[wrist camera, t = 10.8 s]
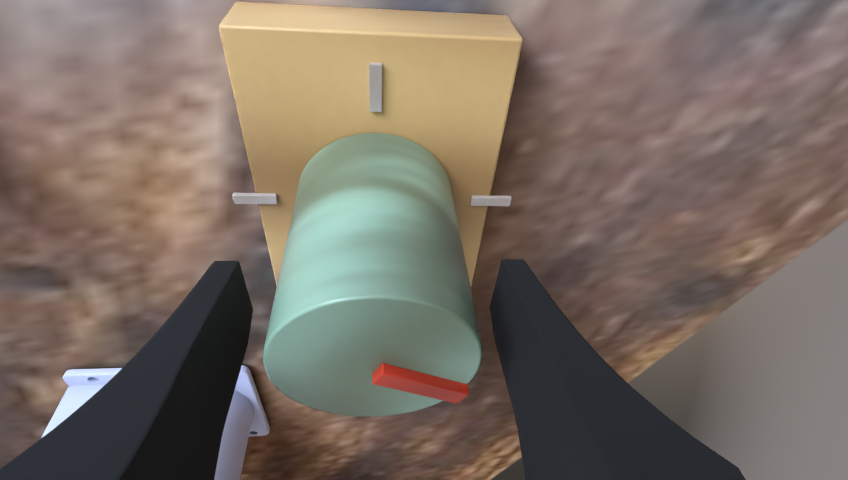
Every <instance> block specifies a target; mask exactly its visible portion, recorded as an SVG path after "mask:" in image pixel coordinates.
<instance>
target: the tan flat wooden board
mask: <svg viewBox="0 0 848 480" xmlns="http://www.w3.org/2000/svg"><path fill="white" fill-rule="evenodd" d="M219 31H220V36H221V40H222V45H223V49H224V54H225V58H226V63H227V67H228V71H229V76H230V80H231V85H232V89H233V94H234V98H235V103H236V107H237V111H238V116H239V120H240V125H241V129H242V134H243V138H244V143H245V147H246V151H247V156H248V160H249V165H250V169H251V174H252V178H253V183H254V187H255V192H256V193H233V195H232V197H233V201H234V204H258V205H259V209H260V214H261V218H262V223H263V227H264V232H265V236H266V240H267V245H268V249H269V254H270V258H271V263H272V267H273V272H274V276H275V280H276V285H277V284H278V279H279V274H280V270H281V265H282V260H283V255H284V251H285V246H286V241H287V236H288V232H289V227H290V222H291V217H292V213H293V208H294V203H295V199H296V194H297V189H298V184H299V180H300V177H301V174H302V172H303V170H304V168H305V166H306V165H307V163H308V162H309V161H310V160H311V158H312V157H313V156H314V155H315V154H316V153H318V152H319V151H320V150H321V149H323V148H324V147H326V146H327V145H329V144H330V143H332V142H334V141H337V140H339V139H341V138H344V137H347V136H351V135H356V134H362V133H385V134H392V135H396V136H400V137H403V138H406V139H408V140H411V141H413V142H415V143H417V144H419V145H421V146H422V147H424V148H425V149H426V150H428V151H429V152H430V153H432V154H433V155H434V156H435V157H436V158H437V159H438V160H439V162H440V163H441V164H442V166H443V167H444V169H445V171H446V173H447V174H448V177H449V180H450V183H451V188H452V194H453V199H454V204H455V209H456V215H457V220H458V225H459V230H460V235H461V241H462V246H463V251H464V256H465V262H466V267H467V272H468V277H469V283H470V288H471V286H472V281H473V276H474V272H475V267H476V262H477V257H478V253H479V248H480V243H481V238H482V233H483V229H484V224H485V219H486V214H487V210H488V206H510V203H511V199H512V198H511V196H490V195H491V191H492V186H493V181H494V176H495V171H496V167H497V162H498V157H499V152H500V148H501V143H502V138H503V133H504V129H505V124H506V119H507V114H508V109H509V105H510V100H511V95H512V90H513V86H514V81H515V76H516V71H517V67H518V62H519V57H520V52H521V47H522V43H523V39H522V37H521V36H520V34H519V32H518V31H517V29H516V27H515V26H514V24H513V23H512V21H511V19H510V18H509V16H507V15H489V14H469V13H449V12H429V11H409V10H389V9H370V8H350V7H330V6H310V5H290V4H270V3H250V2H236V3H235V4H234V5H233V6H232V8H231V9H230V11H229V12H228V13H227V15H226V16H225V17H224V19H223V20H222V22H221V23H220V24H219Z"/></svg>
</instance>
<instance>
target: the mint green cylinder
mask: <svg viewBox="0 0 848 480" xmlns="http://www.w3.org/2000/svg"><path fill="white" fill-rule="evenodd" d="M481 359H482V346H481V340H480V335H479V330H478V325H477V319H476V314H475V309H474V304H473V298H472V293H471V288H470V283H469V277H468V272H467V267H466V262H465V256H464V251H463V246H462V241H461V235H460V230H459V225H458V220H457V215H456V209H455V204H454V199H453V194H452V188H451V183H450V180H449V177H448V174H447V173H446V171H445V169H444V167H443V166H442V164H441V163H440V162H439V160H438V159H437V158H436V157H435V156H434V155H433V154H432V153H430V152H429V151H428V150H426V149H425V148H424V147H422V146H421V145H419V144H417V143H415V142H413V141H411V140H408V139H406V138H403V137H400V136H396V135H392V134H385V133H362V134H356V135H351V136H347V137H344V138H341V139H339V140H337V141H334V142H332V143H330V144H329V145H327V146H326V147H324V148H323V149H321V150H320V151H319V152H318V153H316V154H315V155H314V156H313V157H312V158H311V160H310V161H309V162H308V163H307V165H306V166H305V168H304V170H303V172H302V174H301V177H300V180H299V184H298V189H297V194H296V199H295V203H294V208H293V213H292V217H291V222H290V227H289V232H288V236H287V241H286V246H285V251H284V255H283V260H282V265H281V270H280V274H279V279H278V284H277V289H276V293H275V298H274V303H273V308H272V312H271V317H270V322H269V327H268V331H267V336H266V341H265V346H264V350H263V364H264V367H265V371H266V373H267V375H268V377H269V379H270V380H271V382H272V383H273V384H274V385H275V386H276V387H277V388H278V389H279V390H280V391H281V392H282V393H284V394H285V395H287V396H288V397H289V398H291V399H293V400H295V401H297V402H299V403H301V404H303V405H306V406H308V407H311V408H314V409H317V410H320V411H324V412H329V413H334V414H340V415H347V416H363V417H373V416H389V415H397V414H403V413H408V412H413V411H417V410H420V409H423V408H427V407H429V406H432V405H435V404H437V403H439V402H442V401H447V402H452V403H456V404H458V403H459V402H461V401H462V400H463V399H464V398H465V397H467V396H468V395H469V389H468V385H467V384H468V383H469V382H470V381H471V380H472V378H473V377H474V376H475V374H476V372H477V371H478V369H479V366H480V363H481Z"/></svg>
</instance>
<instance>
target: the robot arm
mask: <svg viewBox="0 0 848 480" xmlns="http://www.w3.org/2000/svg"><path fill="white" fill-rule="evenodd" d="M490 310H491V317H492V325H493V331H494V338H495V342H496V346H497V350H498V354H499V358H500V361H501V365H502V369H503V372H504V376H505V380H506V384H507V387H508V391H509V395H510V398H511V402H512V406H513V410H514V414H515V418H516V423H517V428H518V434H519V440H520V446H521V452H522V458H523V465H524V472H525V479H526V480H746V479H745V478H744V476H743V475H742V473H741V472H740V470H739V468H738V467H736V466H735V465H733V464H732V463H730V462H729V461H728V460H726V459H725V458H723V457H722V456H720V455H719V454H717V453H716V452H714V451H713V450H711V449H710V448H709V447H707V446H706V445H704V444H703V443H701V442H700V441H698V440H697V439H695V438H694V437H693V436H691V435H690V434H689V433H688V432H686V431H685V430H683V429H682V428H681V427H680V426H678V425H677V424H676V423H674V422H673V421H672V420H670V419H669V418H668V417H667V416H665V415H664V414H663V413H662V412H661V411H659V410H658V409H657V408H656V407H655V406H653V405H652V404H651V403H650V402H648V400H646V399H645V398H644V397H643V396H642V395H640V394H639V393H638V392H637V391H636V390H635V389H633V388H632V387H631V386H630V385H629V384H628V383H627V382H626V381H625V380H624V379H623V378H622V377H620V376H619V375H618V374H617V373H616V372H615V371H614V370H613V369H612V368H611V367H610V366H609V365H608V364H607V363H606V362H605V361H604V360H603V359H602V358H601V357H600V355H599V354H598V353H597V352H596V351H595V350H594V349H593V348H592V347H591V346H590V345H589V343H588V342H587V341H586V340H585V339H584V338H583V337H582V336H581V334H580V333H579V332H578V331H577V330H576V329H575V327H574V326H573V325H572V324H571V323H570V321H569V320H568V319H567V318H566V316H565V315H564V314H563V312H562V311H561V310H560V309H559V307H558V306H557V305H556V304H555V302H554V301H553V300H552V298H551V297H550V296H549V294H548V293H547V292H546V290H545V289H544V288H543V286H542V285H541V283H540V282H539V281H538V279H537V278H536V276H535V275H534V274H533V272H532V271H531V269H530V268H529V266H528V265H527V264H526V262H525V261H524V260H502V262H501V265H500V269H499V273H498V277H497V281H496V285H495V288H494V292H493V296H492V300H491V304H490ZM252 312H253V308H252V305H251V301H250V298H249V294H248V291H247V288H246V284H245V281H244V277H243V274H242V270H241V267H240V264H239V261H215V262H214V263H213V264H212V265H211V266H210V267H209V268H208V270H207V271H206V272H205V274H204V275H203V276H202V278H201V279H200V280H199V281H198V283H197V284H196V285H195V287H194V288H193V289H192V290H191V292H190V293H189V294H188V295H187V297H186V298H185V299H184V300H183V302H182V303H181V304H180V305H179V307H178V308H177V309H176V310H175V311H174V312H173V314H172V315H171V316H170V317H169V318H168V320H167V321H166V322H165V323H164V324H163V326H162V327H161V328H160V329H159V330H158V331H157V332H156V333H155V334H154V336H153V337H152V338H151V339H150V340H149V341H148V342H147V343H146V344H145V345H144V346H143V347H142V349H141V350H140V351H139V352H138V353H137V354H136V355H135V356H134V357H133V358H132V359H131V360H130V361H129V362H128V363H127V364H126V365H125V366H124V367H123V368H99V369H70V370H67V371H66V372H65V374H64V376H63V380H64V381H65V382H66V383H67V385H68V386H69V387H68V388H67V390H66V392H65V394H64V396H63V398H62V400H61V402H60V403H59V405H58V407H57V409H56V411H55V413H54V415H53V417H52V418H51V420H50V422H49V424H48V426H47V428H46V430H45V432H44V433H43V435H42V437H41V439H40V440H38V441H37V442H36V443H34V444H33V445H32V446H31V447H29V448H28V449H27V450H25V451H24V452H23V453H21V454H20V455H19V456H17V457H16V458H15V459H13V460H12V461H11V462H9V463H8V464H7V465H5V466H4V467H2V468H1V469H0V480H240V477H241V472H242V467H243V462H244V457H245V452H246V447H247V443H248V438H249V436H264V435H267V434H268V433H269V430H270V426H269V423H268V420H267V417H266V415H265V412H264V409H263V406H262V403H261V400H260V397H259V395H258V392H257V389H256V386H255V383H254V380H253V378H252V375H251V372H250V369H249V368H248V367H246V366H243V365H242V363H243V359H244V355H245V352H246V348H247V345H248V339H249V333H250V326H251V319H252Z"/></svg>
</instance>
